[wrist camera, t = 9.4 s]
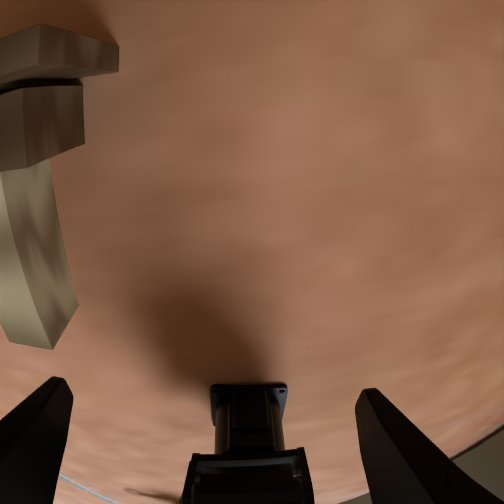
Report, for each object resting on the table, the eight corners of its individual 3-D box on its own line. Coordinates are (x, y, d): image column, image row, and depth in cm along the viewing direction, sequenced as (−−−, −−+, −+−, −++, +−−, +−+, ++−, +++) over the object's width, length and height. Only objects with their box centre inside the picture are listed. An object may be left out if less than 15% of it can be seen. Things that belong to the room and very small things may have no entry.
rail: (79, 304, 21) (52, 349, 17) (38, 301, 21) (9, 341, 17) (45, 93, 14) (-6, 99, 10) (0, 105, 14) (-51, 117, 10)
